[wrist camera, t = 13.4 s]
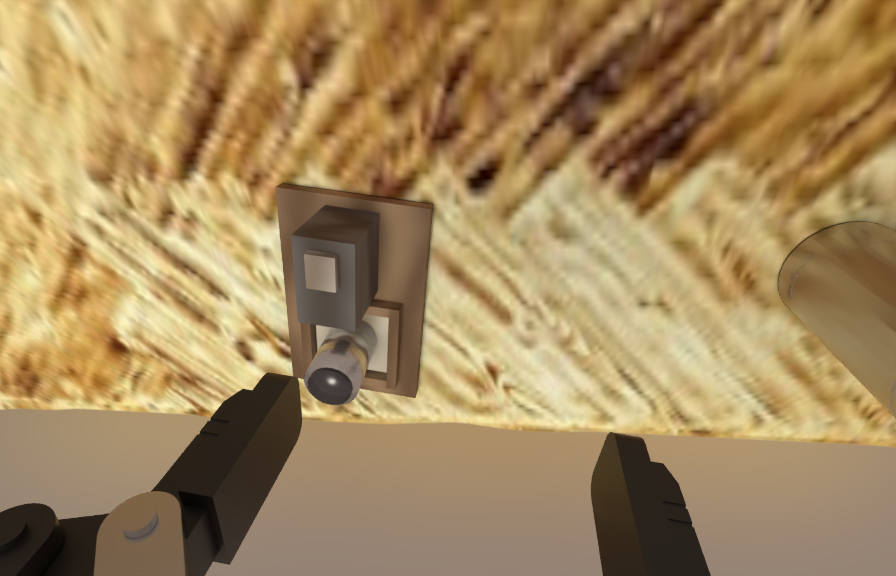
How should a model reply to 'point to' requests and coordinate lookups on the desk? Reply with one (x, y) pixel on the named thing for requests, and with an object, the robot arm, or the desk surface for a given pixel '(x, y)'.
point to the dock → (392, 280)
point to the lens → (341, 364)
